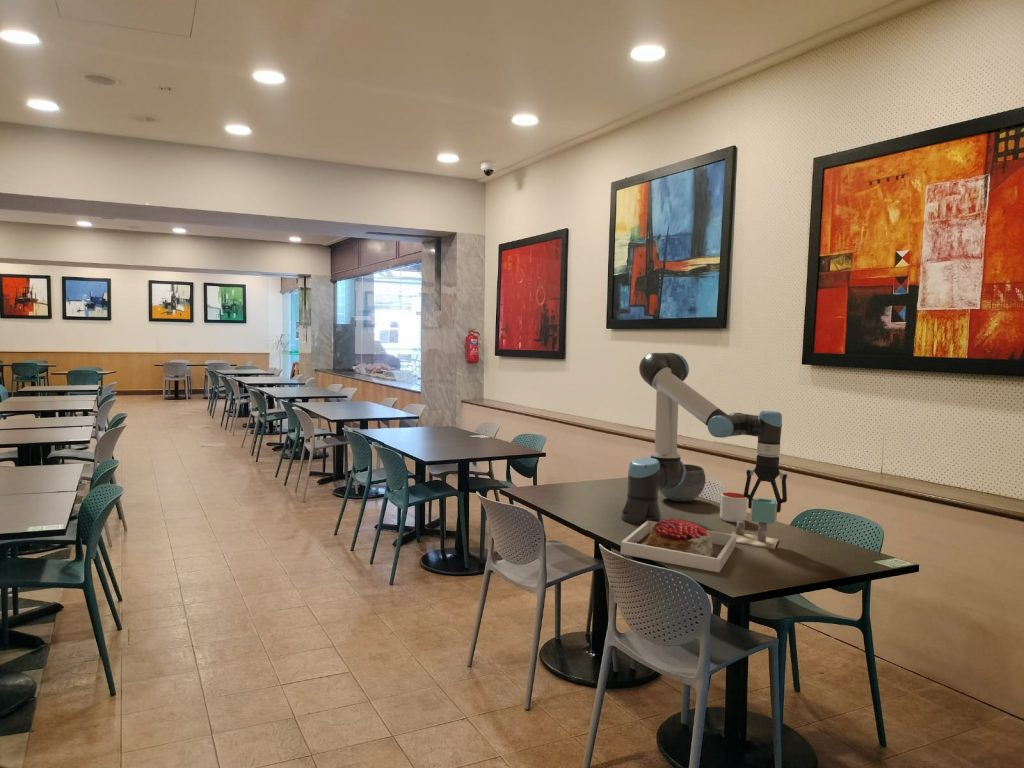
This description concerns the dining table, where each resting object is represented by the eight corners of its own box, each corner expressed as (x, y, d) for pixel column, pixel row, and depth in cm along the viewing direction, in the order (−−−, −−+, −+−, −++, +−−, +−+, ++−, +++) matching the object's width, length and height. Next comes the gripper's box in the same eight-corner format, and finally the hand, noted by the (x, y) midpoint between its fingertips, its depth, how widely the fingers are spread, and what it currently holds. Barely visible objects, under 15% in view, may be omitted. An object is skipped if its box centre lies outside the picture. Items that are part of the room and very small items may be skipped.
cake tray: (620, 553, 230) (621, 541, 230) (646, 531, 258) (647, 520, 258) (719, 572, 216) (720, 559, 216) (735, 546, 244) (736, 535, 244)
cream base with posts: (726, 541, 250) (728, 517, 249) (732, 533, 260) (733, 510, 260) (774, 549, 243) (776, 525, 242) (778, 540, 253) (780, 517, 253)
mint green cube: (751, 520, 248) (753, 501, 247) (754, 516, 254) (755, 497, 254) (772, 523, 245) (774, 504, 244) (775, 519, 251) (776, 500, 251)
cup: (747, 524, 274) (749, 499, 273) (720, 522, 276) (722, 496, 275) (744, 518, 284) (746, 493, 283) (718, 515, 286) (720, 491, 285)
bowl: (709, 499, 312) (712, 466, 311) (694, 509, 294) (697, 473, 293) (664, 492, 323) (666, 459, 322) (647, 500, 306) (649, 466, 304)
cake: (629, 542, 244) (630, 513, 244) (696, 542, 248) (698, 514, 247) (651, 564, 222) (653, 533, 221) (724, 564, 225) (726, 533, 224)
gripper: (737, 453, 249) (732, 517, 251) (797, 460, 240) (792, 526, 242) (740, 450, 255) (736, 512, 257) (799, 456, 247) (794, 521, 248)
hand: (763, 519), depth 249 cm, fingers closed on mint green cube, 7 cm apart
